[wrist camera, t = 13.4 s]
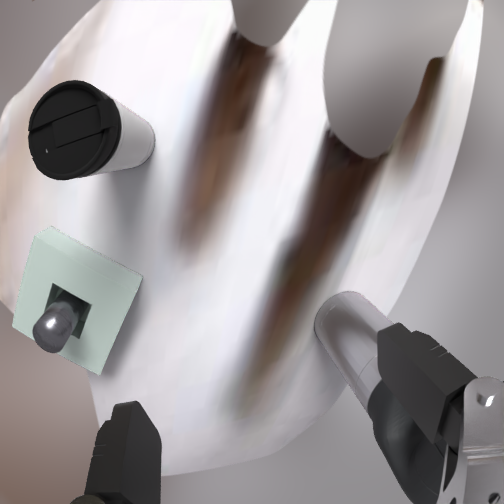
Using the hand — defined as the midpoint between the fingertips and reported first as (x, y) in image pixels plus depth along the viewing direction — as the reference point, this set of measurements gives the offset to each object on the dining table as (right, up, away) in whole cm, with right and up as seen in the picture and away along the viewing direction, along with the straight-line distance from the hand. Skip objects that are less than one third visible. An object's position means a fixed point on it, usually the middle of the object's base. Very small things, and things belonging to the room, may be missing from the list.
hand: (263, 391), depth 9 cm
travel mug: (-14, +17, +24) cm, 33 cm away
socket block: (-23, -1, +28) cm, 37 cm away
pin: (-23, -2, +27) cm, 36 cm away
